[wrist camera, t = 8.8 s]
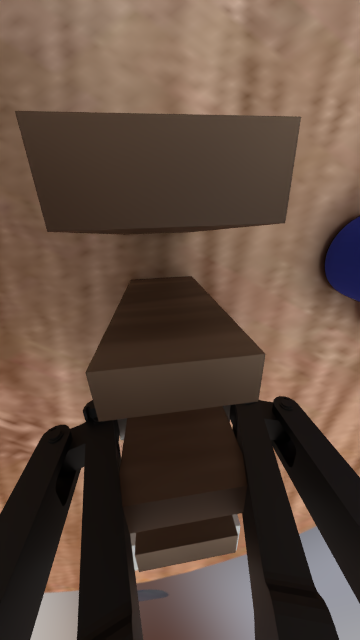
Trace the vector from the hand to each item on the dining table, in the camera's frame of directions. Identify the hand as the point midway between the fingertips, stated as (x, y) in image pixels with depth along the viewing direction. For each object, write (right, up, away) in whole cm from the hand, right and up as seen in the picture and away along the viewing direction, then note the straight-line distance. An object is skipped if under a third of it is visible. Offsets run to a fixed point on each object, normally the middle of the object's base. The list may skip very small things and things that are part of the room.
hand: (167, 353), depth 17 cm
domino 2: (0, +5, 0) cm, 6 cm away
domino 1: (-1, +10, -2) cm, 11 cm away
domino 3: (0, 0, +1) cm, 1 cm away
